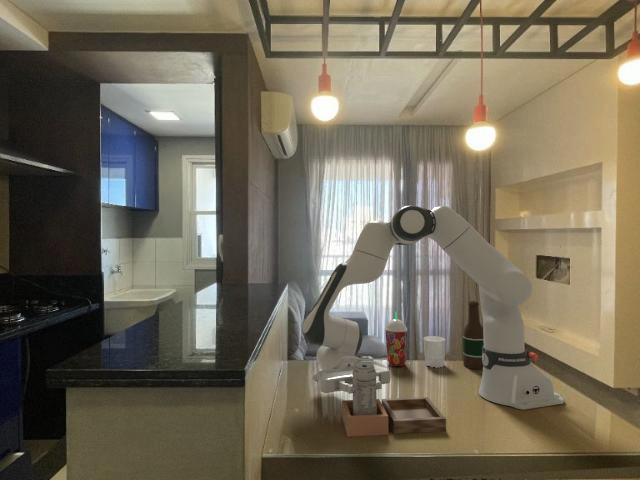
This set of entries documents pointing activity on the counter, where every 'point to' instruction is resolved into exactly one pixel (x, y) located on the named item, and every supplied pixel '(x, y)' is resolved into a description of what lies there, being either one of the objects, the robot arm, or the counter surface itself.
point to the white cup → (434, 351)
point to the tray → (413, 415)
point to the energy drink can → (364, 389)
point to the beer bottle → (473, 339)
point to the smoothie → (396, 342)
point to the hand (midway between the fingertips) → (365, 388)
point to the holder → (364, 421)
